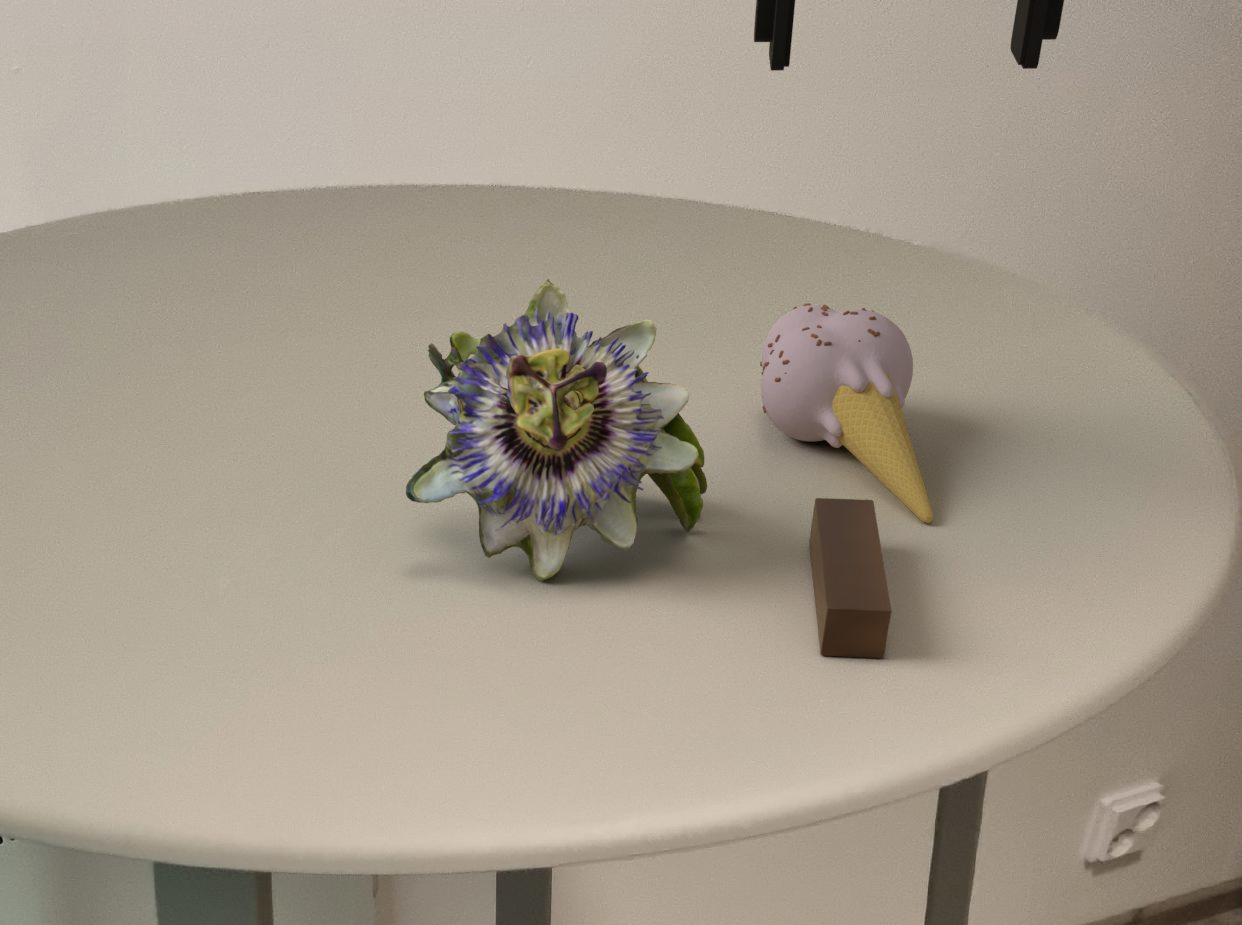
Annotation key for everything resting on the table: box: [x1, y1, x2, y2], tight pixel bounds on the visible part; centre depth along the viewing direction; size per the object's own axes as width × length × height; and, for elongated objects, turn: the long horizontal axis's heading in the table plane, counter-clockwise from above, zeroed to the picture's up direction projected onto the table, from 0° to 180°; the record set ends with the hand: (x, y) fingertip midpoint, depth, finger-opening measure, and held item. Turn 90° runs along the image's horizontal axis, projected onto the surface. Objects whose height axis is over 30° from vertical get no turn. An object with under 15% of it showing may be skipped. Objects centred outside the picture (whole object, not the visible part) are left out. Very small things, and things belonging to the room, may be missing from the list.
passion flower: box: [405, 278, 708, 581], centre depth 79 cm, size 11×11×12 cm
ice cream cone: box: [759, 302, 934, 524], centre depth 86 cm, size 6×7×15 cm
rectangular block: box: [808, 497, 892, 659], centre depth 76 cm, size 2×10×2 cm, turn 173°
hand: (899, 61), depth 76 cm, fingers open, 9 cm apart
